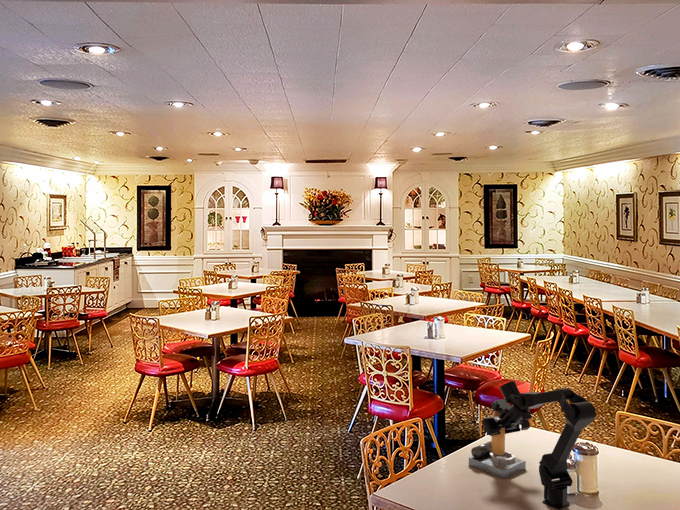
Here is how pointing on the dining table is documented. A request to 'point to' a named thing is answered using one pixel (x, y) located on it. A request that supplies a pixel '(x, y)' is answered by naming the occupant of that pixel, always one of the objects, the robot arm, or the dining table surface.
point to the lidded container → (498, 441)
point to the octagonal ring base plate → (495, 461)
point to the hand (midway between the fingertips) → (496, 434)
